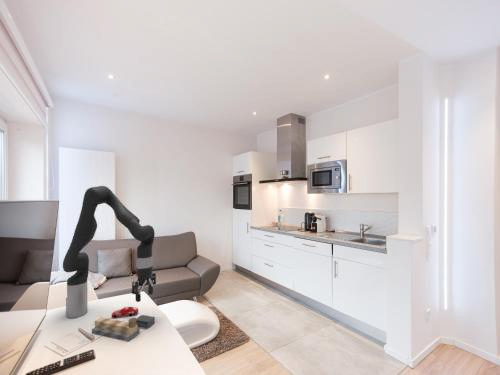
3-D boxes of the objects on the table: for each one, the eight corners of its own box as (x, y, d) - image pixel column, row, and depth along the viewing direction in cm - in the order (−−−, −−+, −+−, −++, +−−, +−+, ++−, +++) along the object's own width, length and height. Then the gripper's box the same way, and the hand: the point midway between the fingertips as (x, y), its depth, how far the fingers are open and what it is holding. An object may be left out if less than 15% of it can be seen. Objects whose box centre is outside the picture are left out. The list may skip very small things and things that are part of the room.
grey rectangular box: (134, 326, 121) (134, 319, 121) (141, 321, 126) (141, 314, 126) (147, 329, 119) (147, 322, 119) (154, 324, 124) (154, 317, 124)
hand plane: (91, 333, 116) (91, 316, 116) (104, 325, 122) (104, 309, 123) (129, 341, 109) (129, 323, 109) (140, 333, 115) (140, 316, 115)
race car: (109, 319, 129) (109, 312, 129) (113, 314, 134) (113, 307, 134) (136, 316, 131) (136, 309, 131) (139, 311, 137) (139, 304, 137)
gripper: (148, 260, 131) (148, 291, 131) (127, 269, 118) (127, 303, 117) (160, 262, 129) (160, 293, 129) (140, 270, 115) (140, 305, 115)
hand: (144, 297), depth 123 cm, fingers open, 8 cm apart
